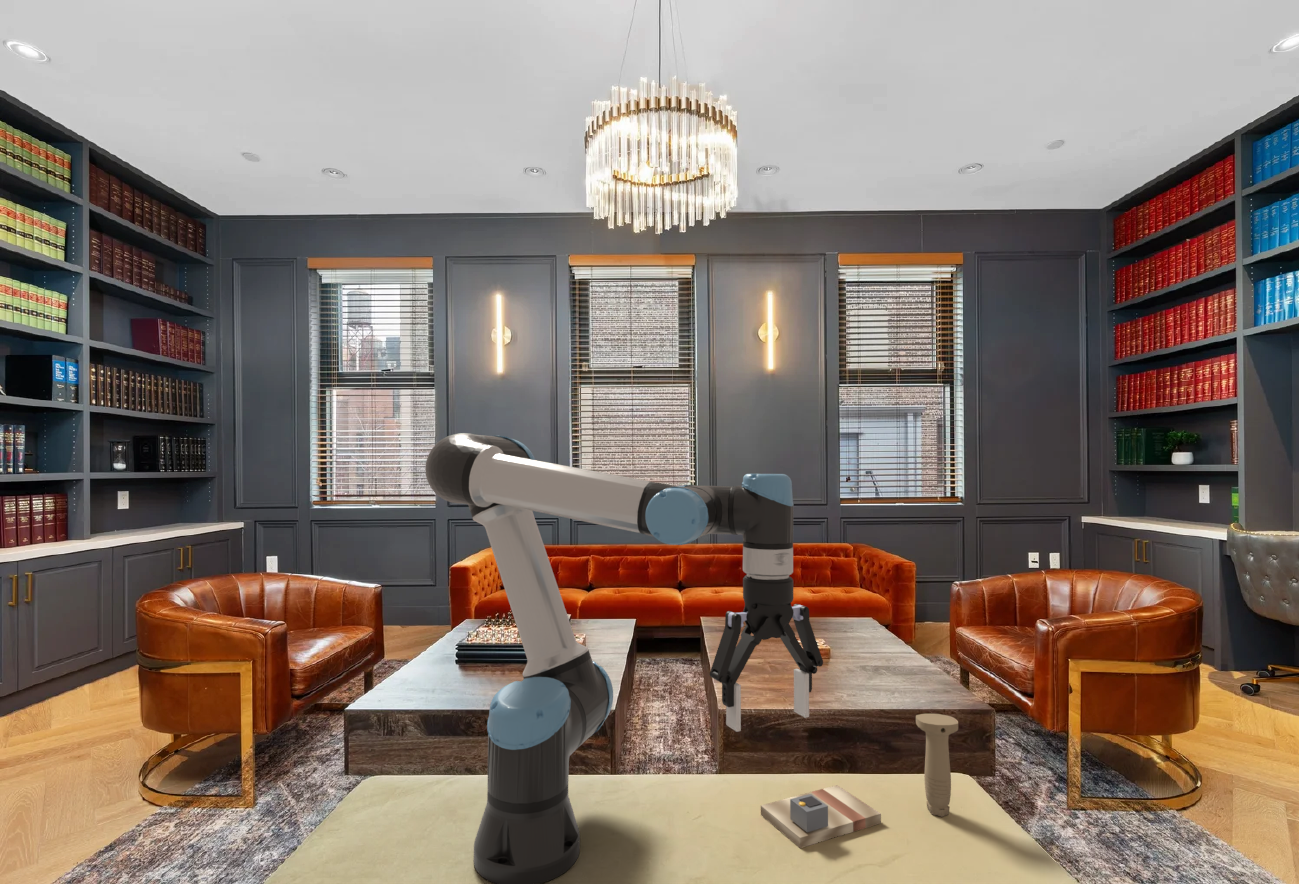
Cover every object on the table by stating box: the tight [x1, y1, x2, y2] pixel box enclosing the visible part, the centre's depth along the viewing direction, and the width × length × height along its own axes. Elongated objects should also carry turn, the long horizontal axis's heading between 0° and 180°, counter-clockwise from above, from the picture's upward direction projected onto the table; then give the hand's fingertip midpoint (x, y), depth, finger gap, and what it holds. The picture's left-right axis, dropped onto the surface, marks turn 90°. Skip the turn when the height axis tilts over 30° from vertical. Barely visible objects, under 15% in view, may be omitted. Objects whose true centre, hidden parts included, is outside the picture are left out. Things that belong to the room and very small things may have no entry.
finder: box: [790, 794, 828, 832], centre depth 97 cm, size 4×4×3 cm
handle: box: [915, 713, 959, 818], centre depth 104 cm, size 5×6×15 cm
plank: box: [760, 784, 882, 849], centre depth 101 cm, size 16×10×2 cm, turn 115°
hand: (768, 721), depth 95 cm, fingers open, 12 cm apart
